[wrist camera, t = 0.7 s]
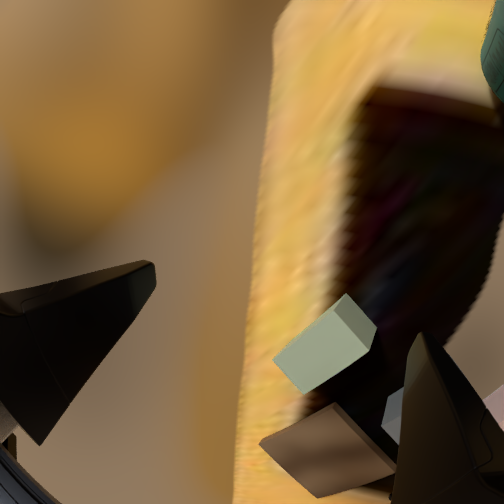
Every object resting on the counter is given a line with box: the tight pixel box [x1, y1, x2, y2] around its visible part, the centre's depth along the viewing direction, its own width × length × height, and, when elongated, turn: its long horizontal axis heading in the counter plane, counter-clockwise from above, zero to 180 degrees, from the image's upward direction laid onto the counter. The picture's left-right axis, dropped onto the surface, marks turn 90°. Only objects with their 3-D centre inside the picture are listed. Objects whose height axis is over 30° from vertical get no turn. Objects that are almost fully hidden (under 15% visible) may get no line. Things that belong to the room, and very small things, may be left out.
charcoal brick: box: [381, 354, 470, 445], centre depth 17 cm, size 4×6×4 cm, turn 137°
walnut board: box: [259, 402, 397, 499], centre depth 23 cm, size 10×10×1 cm
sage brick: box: [272, 293, 377, 394], centre depth 20 cm, size 4×6×4 cm, turn 137°
